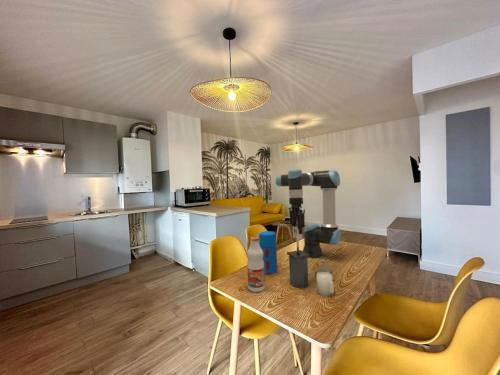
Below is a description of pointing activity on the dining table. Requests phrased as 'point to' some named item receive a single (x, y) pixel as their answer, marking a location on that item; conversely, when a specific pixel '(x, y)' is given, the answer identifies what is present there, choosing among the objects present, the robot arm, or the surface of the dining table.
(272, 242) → the thermos
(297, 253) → the plunger
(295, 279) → the press body
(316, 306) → the dining table surface
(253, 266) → the fruit juice
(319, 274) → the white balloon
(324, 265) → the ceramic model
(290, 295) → the dining table surface
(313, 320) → the dining table surface
